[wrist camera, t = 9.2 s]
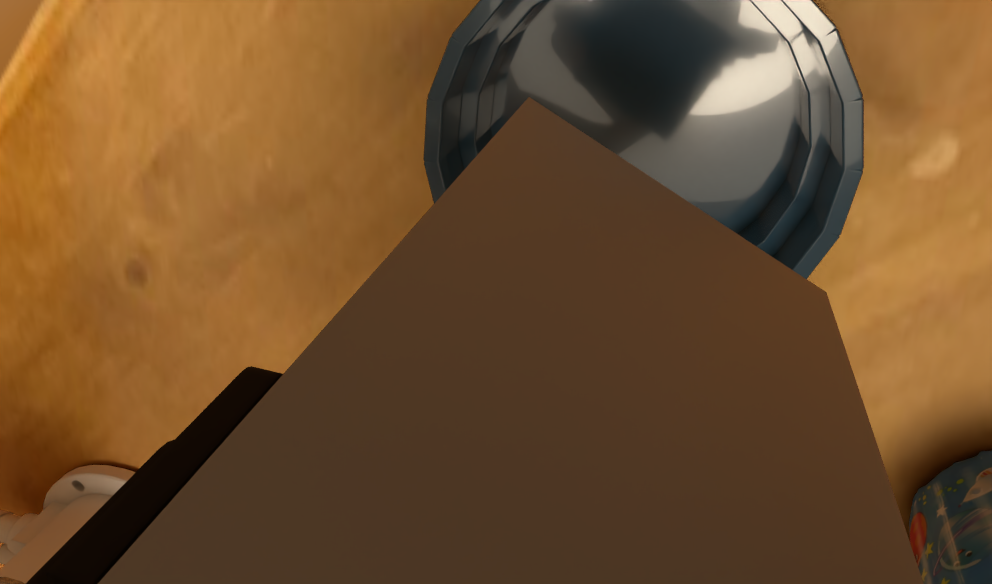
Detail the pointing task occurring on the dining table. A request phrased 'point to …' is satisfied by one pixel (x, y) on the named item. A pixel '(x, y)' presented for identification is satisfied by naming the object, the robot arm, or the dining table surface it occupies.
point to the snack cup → (955, 524)
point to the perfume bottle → (551, 407)
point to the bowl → (673, 104)
